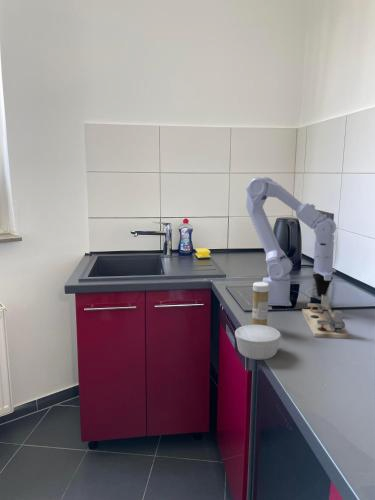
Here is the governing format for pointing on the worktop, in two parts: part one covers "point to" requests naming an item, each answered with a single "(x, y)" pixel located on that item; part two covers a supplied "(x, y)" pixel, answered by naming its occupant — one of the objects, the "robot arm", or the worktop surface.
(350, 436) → the worktop surface
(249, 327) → the ramekin
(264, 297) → the sprinkles bottle
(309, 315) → the board
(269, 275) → the robot arm
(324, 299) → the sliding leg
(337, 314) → the fixed leg
